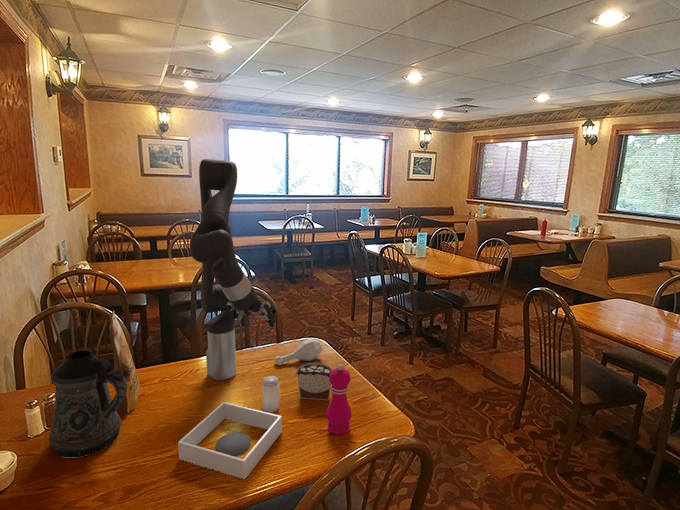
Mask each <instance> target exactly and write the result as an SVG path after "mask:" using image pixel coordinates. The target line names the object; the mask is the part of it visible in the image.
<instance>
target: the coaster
mask: <svg viewBox="0 0 680 510" xmlns="http://www.w3.org/2000/svg"><path fill="white" fill-rule="evenodd" d="M250 446H251V438H250V436H249V435H248V434H246V433H244V432H239V431H236V432H235V431H233V432H228V433H226V434H224V435H222V436H220V437H219V438H218V440H216V443H215V449H216V450H215V451H217V452H220V453H223V454H227V455H230V456H234V457H237V456H239V455H242V454H243V453H246V451H248V450H249V448H250Z"/></svg>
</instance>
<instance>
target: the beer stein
mask: <svg viewBox="0 0 680 510" xmlns="http://www.w3.org/2000/svg"><path fill="white" fill-rule="evenodd" d="M50 379H51V382H52V384H53V385H54V387H55V401H54V402H55V403H54V413H53V414H54V415H53V424H52V429H51V431H50V433H49V436H48V437H49V438H48V440H49V441H48V442H49V444H50V446H51V448H52V451H53V454H54V453H55V454H57V455H59V456H62V457H81V456H85V455H89V454H92V453H95V452H97V451H99V452H101V451H100V450H102V449H104V448H105V447H106V448H108V447H109V446H110V445H111V444H110V443H112V442H113V441H114V440H115V439H116V440H117V438H118V437H119V436H118V435H120V431H121V430H120V429H121V425H122V418H121V416H120V414H119V413H118V411H117V409H119V406H120V405H121V404H122V402H123V401H124V399H125V397H126V393H127V382H126V380H125V378H124V377H123V375H122V374H120V372H118V371H116V370H114V369H113V364H112V363H111V362H110V360H109V359H108V360H107V359H101V358H98V357H96V356H94V355H93V354H92V352H90V351H89V350H79V351H78V350H77V351H75V352H72V353H71V354H69V355H68V358H67V359H66V360H65V361H63V363H61V364H60V365H58V367H56V368H55V370H54V371H53V372H52V374H51V376H50ZM108 383H109V384H110V385H112V387H113V388H114V391H115V395H114V397H113V399H112V396H111V393H110V389H109V386H108ZM117 436H118V437H117ZM116 440H115V441H116ZM115 441H114V442H115ZM114 442H113V443H114ZM113 443H112V444H113ZM109 444H110V445H109ZM108 445H109V446H108ZM107 446H108V447H107ZM106 448H105V449H106ZM105 449H104V450H105ZM102 451H103V450H102ZM97 453H98V452H97ZM55 454H54V455H55ZM95 454H96V453H95ZM57 455H56V456H57ZM92 455H93V454H92ZM59 456H58V457H59Z"/></svg>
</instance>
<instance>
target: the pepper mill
mask: <svg viewBox="0 0 680 510" xmlns="http://www.w3.org/2000/svg"><path fill="white" fill-rule="evenodd" d="M329 381H330V383H331V387H330V392H331V394H332V396H331V399H330V400H331V401H330V402H329V405H328V407H327V409H326V414H325V416H326V420H327V430H328V431H329V432H330V433H331V434H333V435H337V436H339V435H345V434H347V433H348V432H349V430H350V428H351V425H350V421H351V419H352V409H351V406H350V404H349V401H348V397H347V394H348V391H349V384H350V382H351V374H350V372H349V371H348V370H347V369H346V368H344V365H343V364H342V363H339V364H337V366H336V368H333V369H332V371H331V373H330V375H329Z"/></svg>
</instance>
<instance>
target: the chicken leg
mask: <svg viewBox="0 0 680 510" xmlns="http://www.w3.org/2000/svg"><path fill="white" fill-rule="evenodd" d="M322 352H323V348H322V345H321V342H320V341H319V340H316V339H313V338H308V339H305V340H302V341H301V343H300V344H299V345H298V346H297V347H296V349H295V350H294V351H293V352H291V353H288V354H285V355H283V356H279V355H276V356H275V358H274V362H275V363H276V364H277V366H279V365H281V366H282V365H283V364H284V363H286V362H290V361H293V360H294V359H295V360H296V359H297V360H300V361H305V362H312V361H314V360H316V359H318V358H319V356H320V355H321V353H322Z"/></svg>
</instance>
